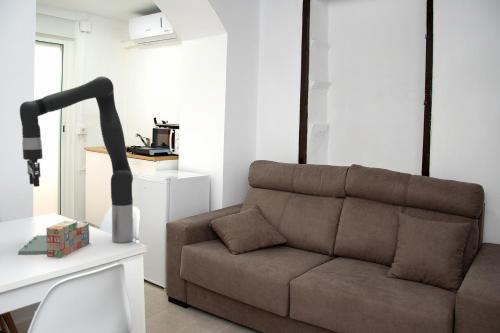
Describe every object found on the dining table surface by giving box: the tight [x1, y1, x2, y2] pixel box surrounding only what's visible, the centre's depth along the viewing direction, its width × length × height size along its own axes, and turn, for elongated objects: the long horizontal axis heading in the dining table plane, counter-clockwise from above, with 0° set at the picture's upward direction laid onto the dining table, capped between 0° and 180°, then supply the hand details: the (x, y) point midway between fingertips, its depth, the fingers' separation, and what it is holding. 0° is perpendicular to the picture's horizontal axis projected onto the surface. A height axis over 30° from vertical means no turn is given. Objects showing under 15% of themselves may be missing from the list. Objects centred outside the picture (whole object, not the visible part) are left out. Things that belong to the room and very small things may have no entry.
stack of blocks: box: [45, 220, 90, 259], centre depth 190 cm, size 21×6×12 cm, turn 168°
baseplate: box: [17, 234, 47, 256], centre depth 195 cm, size 12×24×2 cm, turn 9°
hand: (34, 185), depth 194 cm, fingers open, 8 cm apart
